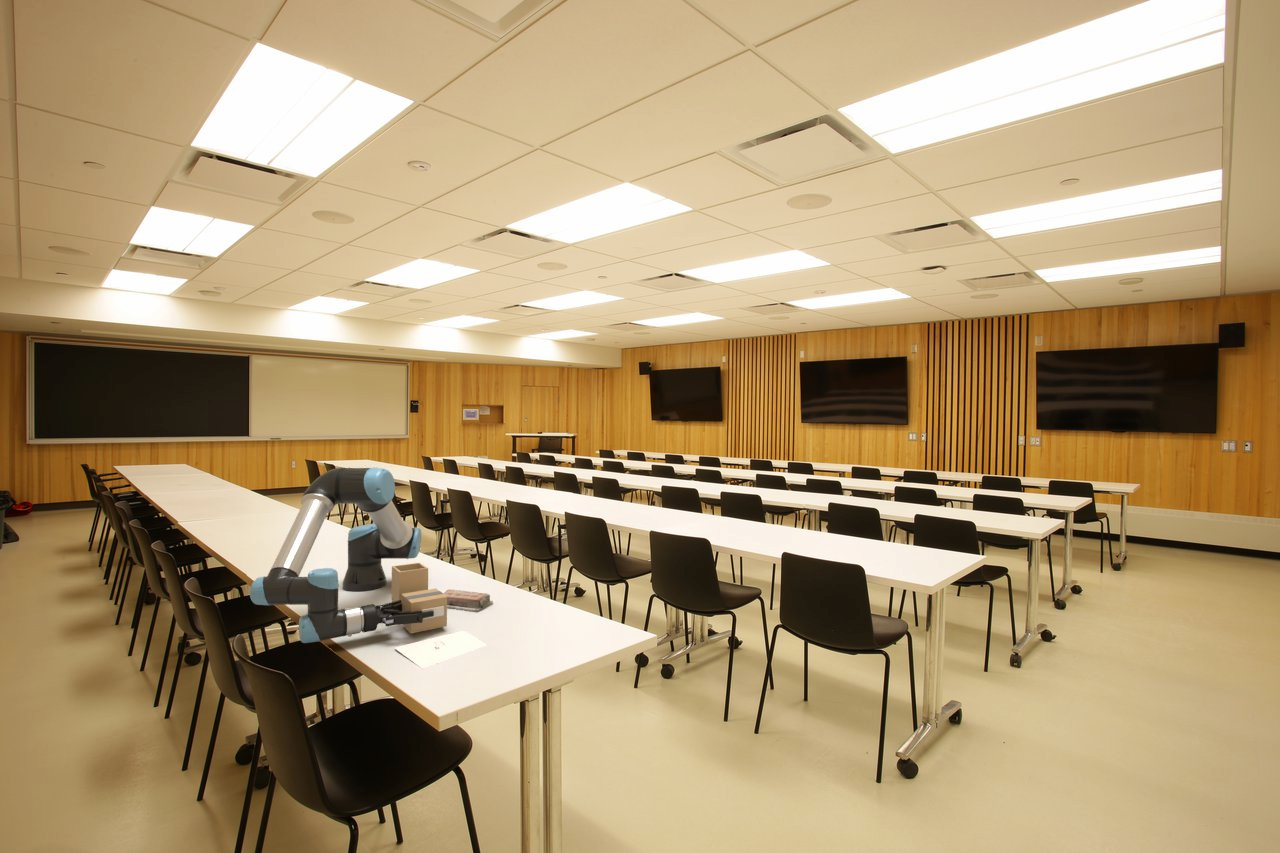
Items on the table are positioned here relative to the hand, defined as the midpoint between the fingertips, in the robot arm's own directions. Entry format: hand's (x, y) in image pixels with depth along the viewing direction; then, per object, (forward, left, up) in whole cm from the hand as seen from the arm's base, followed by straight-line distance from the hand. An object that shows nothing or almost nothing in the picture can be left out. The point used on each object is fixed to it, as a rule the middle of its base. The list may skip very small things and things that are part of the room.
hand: (437, 605), depth 186 cm
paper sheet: (+24, -4, -7) cm, 25 cm away
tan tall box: (-15, -4, -6) cm, 17 cm away
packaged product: (-16, +14, -7) cm, 23 cm away
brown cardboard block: (0, -4, -5) cm, 7 cm away
